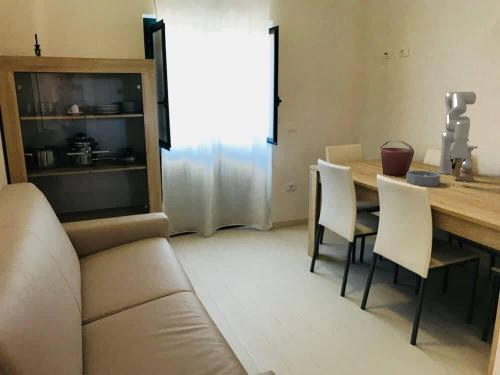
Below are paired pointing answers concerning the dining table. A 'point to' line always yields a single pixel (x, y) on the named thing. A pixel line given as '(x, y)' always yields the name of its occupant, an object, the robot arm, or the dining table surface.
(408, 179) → the grey bowl
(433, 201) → the dining table surface
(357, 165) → the dining table surface
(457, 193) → the dining table surface
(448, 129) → the robot arm
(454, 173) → the brown rectangular block
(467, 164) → the candle holder
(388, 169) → the bucket
